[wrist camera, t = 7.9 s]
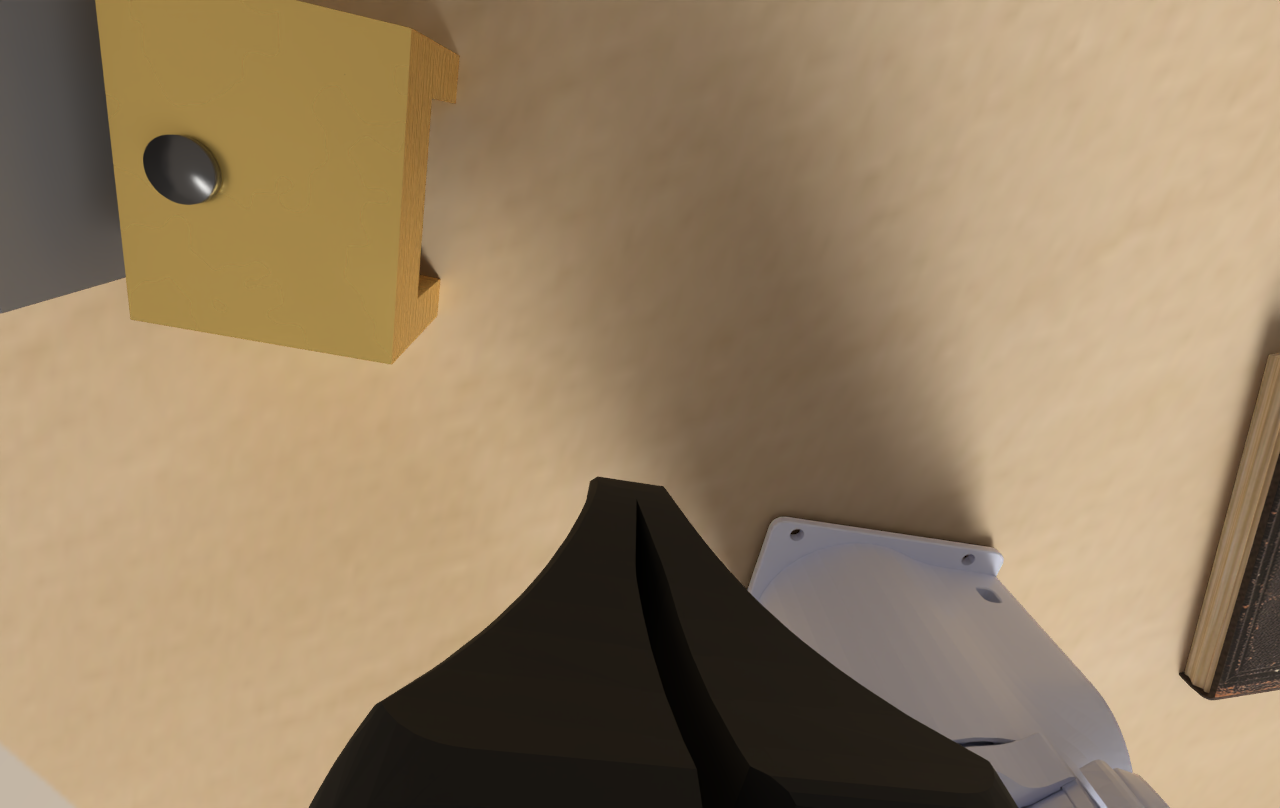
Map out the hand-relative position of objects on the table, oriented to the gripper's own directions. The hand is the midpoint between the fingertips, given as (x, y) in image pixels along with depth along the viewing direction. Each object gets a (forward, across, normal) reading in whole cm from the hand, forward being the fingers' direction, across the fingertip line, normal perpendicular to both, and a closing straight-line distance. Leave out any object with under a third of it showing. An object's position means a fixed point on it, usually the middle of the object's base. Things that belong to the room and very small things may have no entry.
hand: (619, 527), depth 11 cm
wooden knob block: (+10, +9, -4) cm, 14 cm away
